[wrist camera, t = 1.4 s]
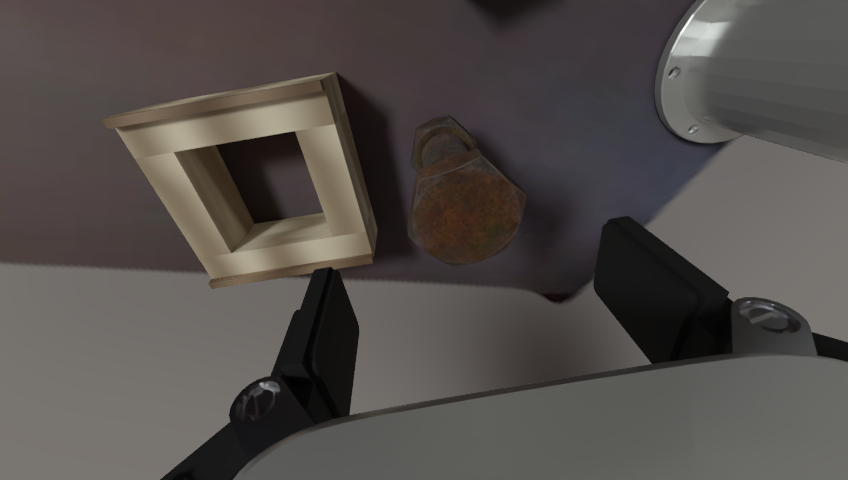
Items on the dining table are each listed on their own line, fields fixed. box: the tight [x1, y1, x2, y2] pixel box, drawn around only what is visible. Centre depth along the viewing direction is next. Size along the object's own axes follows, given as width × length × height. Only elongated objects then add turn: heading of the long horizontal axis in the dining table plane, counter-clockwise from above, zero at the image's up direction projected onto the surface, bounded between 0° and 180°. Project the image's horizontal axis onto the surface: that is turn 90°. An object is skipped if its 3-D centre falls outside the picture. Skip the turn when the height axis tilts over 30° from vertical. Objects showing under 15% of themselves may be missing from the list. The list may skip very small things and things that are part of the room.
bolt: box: [408, 115, 527, 266], centre depth 21 cm, size 6×5×15 cm
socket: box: [101, 72, 378, 289], centre depth 26 cm, size 14×14×6 cm
